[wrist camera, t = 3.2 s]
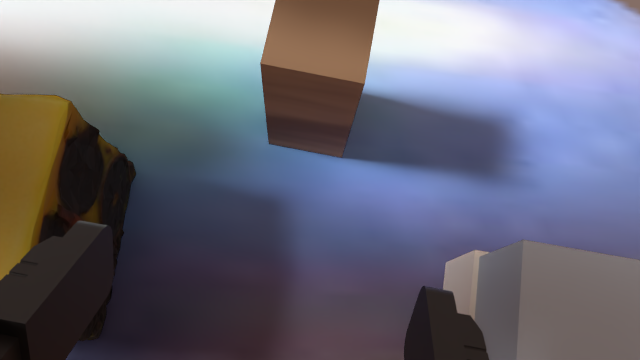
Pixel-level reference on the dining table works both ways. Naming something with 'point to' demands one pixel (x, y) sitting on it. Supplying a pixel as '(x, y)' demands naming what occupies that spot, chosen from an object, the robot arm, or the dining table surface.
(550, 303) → the block
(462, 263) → the tower base
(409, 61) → the dining table surface
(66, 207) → the yellow patterned cube
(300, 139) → the pillar
